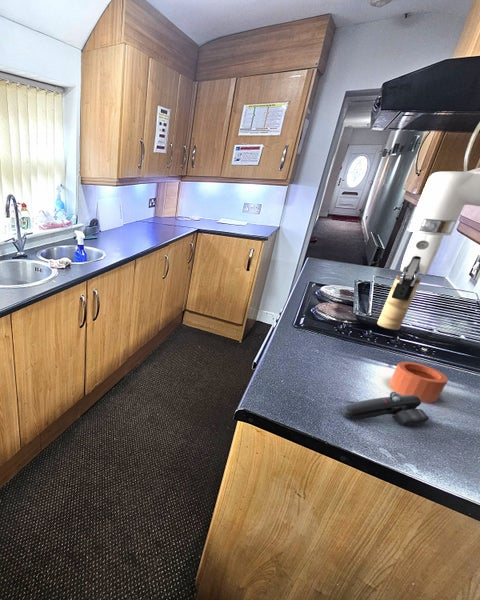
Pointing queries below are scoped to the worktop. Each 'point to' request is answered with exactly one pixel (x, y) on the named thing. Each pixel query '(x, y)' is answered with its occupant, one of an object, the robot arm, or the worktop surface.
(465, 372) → the worktop surface
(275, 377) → the worktop surface
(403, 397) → the can opener
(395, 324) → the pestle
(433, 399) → the bowl
